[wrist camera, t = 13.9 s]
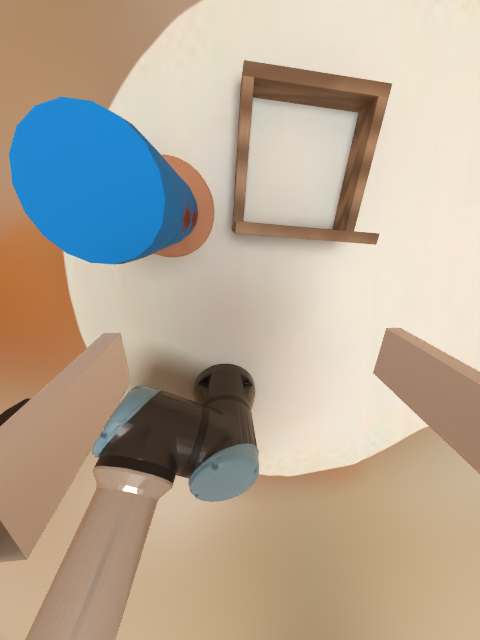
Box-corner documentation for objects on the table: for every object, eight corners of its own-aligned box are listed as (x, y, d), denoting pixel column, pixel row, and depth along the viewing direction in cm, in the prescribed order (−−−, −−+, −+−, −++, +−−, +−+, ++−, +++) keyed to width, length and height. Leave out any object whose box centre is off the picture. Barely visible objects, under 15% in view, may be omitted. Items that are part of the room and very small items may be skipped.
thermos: (193, 249, 42) (158, 280, 19) (133, 234, 40) (16, 248, 17) (204, 184, 38) (177, 126, 15) (139, 164, 36) (-5, 63, 13)
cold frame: (337, 239, 44) (376, 244, 33) (232, 230, 42) (235, 233, 31) (370, 101, 36) (435, 47, 25) (241, 82, 34) (250, 14, 23)
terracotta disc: (212, 259, 44) (212, 259, 43) (128, 253, 42) (126, 253, 41) (215, 162, 38) (215, 160, 37) (116, 151, 36) (113, 149, 35)
